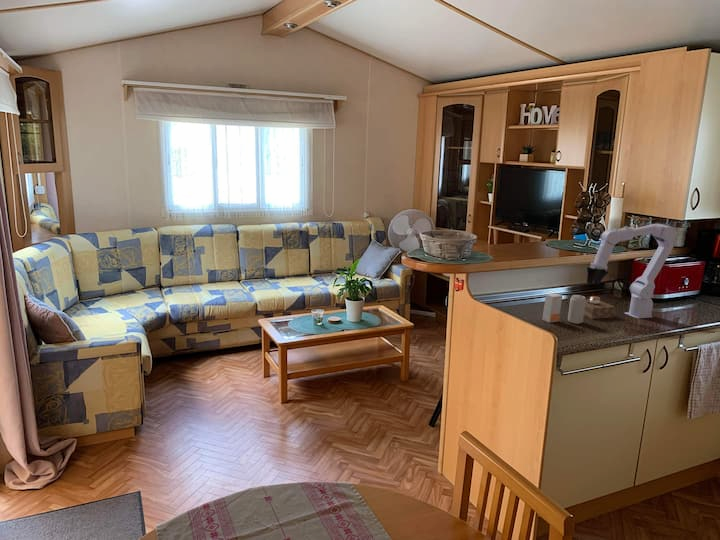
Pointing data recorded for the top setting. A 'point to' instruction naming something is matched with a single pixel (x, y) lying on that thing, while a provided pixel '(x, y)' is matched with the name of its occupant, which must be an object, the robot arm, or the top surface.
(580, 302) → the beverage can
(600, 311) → the band block
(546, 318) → the skincare box
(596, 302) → the peg
